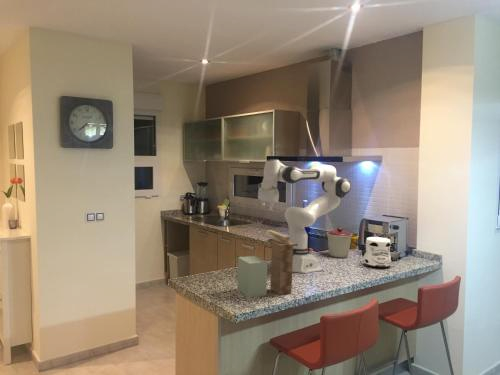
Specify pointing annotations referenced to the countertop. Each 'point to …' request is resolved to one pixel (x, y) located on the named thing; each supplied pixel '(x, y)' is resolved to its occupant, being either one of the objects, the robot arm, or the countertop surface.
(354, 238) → the condiment
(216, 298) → the countertop surface
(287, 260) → the walnut stand
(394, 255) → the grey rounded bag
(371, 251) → the white piece
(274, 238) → the beech bar
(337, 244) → the canister
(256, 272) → the sage box
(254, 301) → the countertop surface
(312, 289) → the countertop surface
